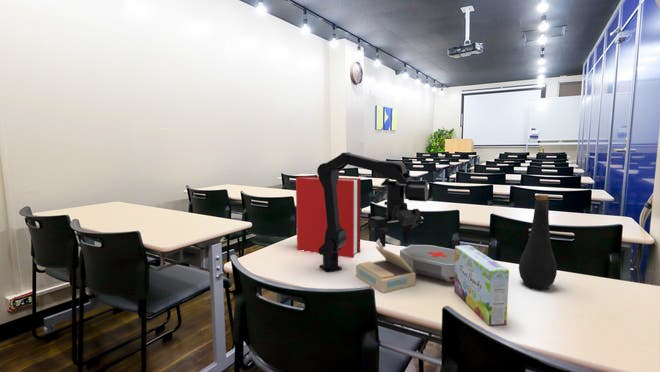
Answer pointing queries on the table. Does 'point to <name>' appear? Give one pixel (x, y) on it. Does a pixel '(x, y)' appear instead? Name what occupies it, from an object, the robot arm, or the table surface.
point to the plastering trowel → (391, 256)
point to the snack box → (482, 284)
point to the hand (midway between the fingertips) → (394, 244)
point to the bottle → (539, 250)
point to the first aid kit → (431, 261)
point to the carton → (385, 275)
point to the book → (314, 214)
